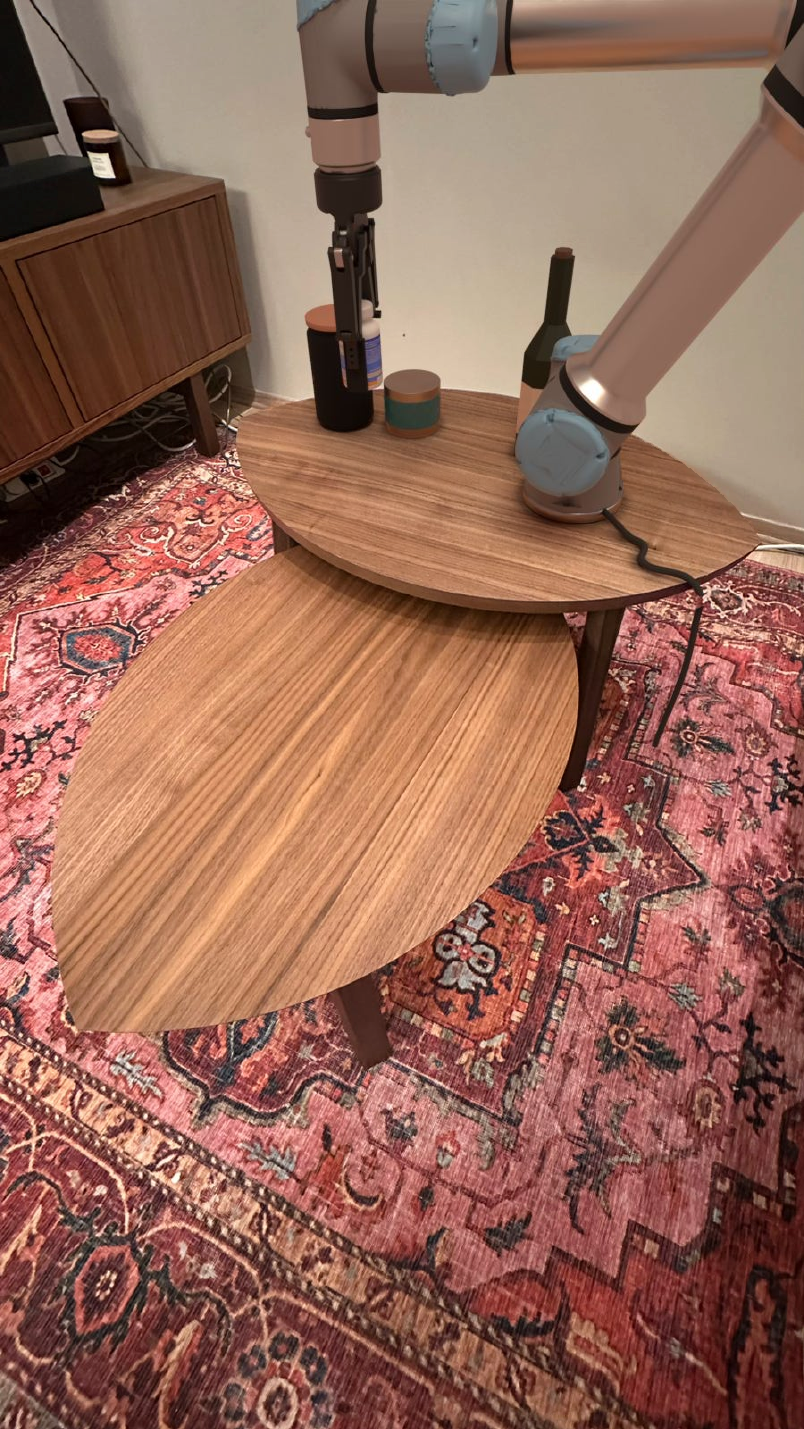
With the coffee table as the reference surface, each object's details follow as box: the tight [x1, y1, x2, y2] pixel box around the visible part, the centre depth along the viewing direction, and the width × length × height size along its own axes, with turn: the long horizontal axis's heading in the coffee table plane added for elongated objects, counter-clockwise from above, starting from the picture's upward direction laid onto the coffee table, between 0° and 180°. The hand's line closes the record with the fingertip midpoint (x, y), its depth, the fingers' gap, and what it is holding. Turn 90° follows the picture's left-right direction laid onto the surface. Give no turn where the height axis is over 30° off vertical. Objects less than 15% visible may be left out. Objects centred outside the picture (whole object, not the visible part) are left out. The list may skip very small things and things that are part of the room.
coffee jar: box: [304, 303, 375, 433], centre depth 121 cm, size 11×11×18 cm
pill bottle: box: [339, 299, 384, 390], centre depth 89 cm, size 5×5×10 cm
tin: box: [383, 368, 442, 440], centre depth 123 cm, size 10×10×8 cm
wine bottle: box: [513, 246, 576, 458], centre depth 106 cm, size 8×8×30 cm
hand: (363, 381), depth 93 cm, fingers closed on pill bottle, 5 cm apart
